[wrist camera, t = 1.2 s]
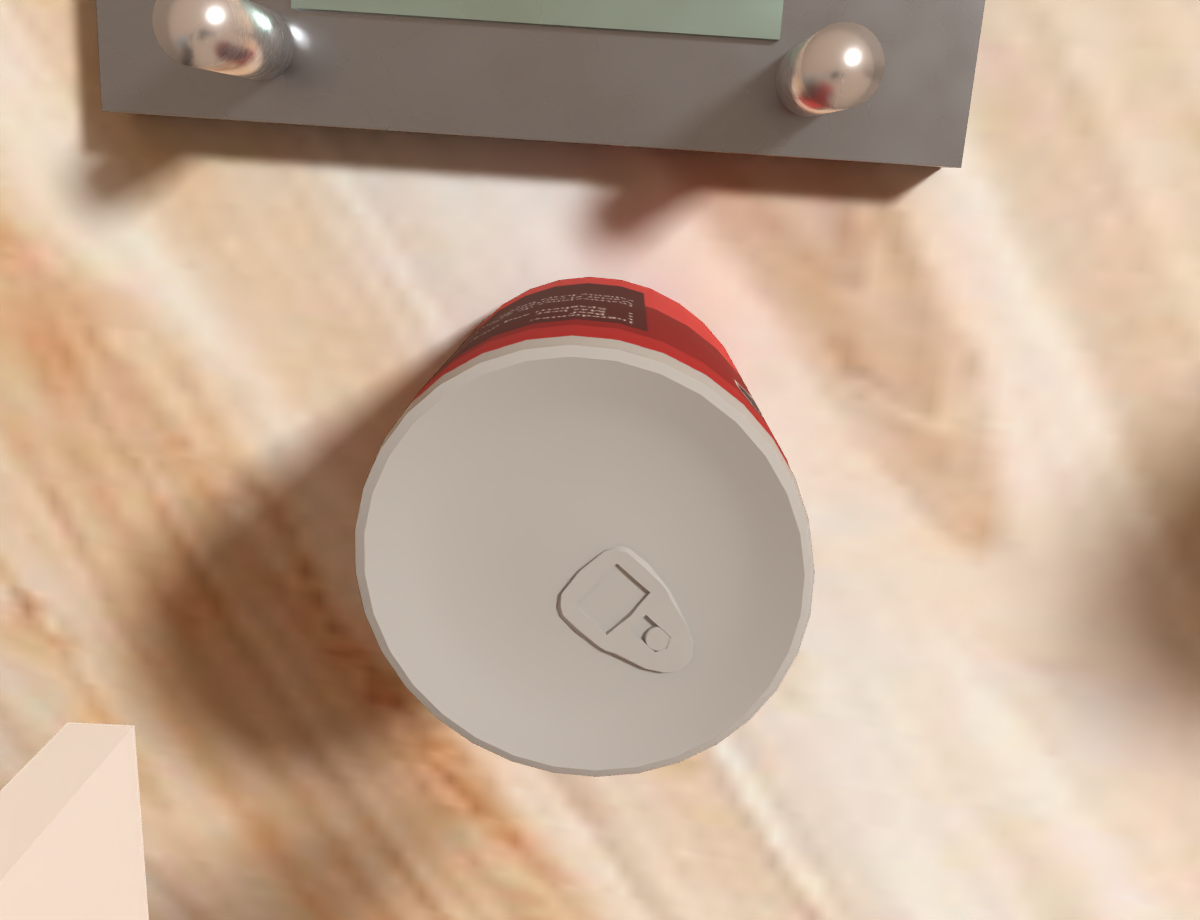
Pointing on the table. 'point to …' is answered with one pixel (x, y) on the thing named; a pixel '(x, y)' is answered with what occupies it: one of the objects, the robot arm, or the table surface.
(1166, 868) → the table surface
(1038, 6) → the table surface
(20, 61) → the table surface
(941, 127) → the plate
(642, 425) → the canned food
